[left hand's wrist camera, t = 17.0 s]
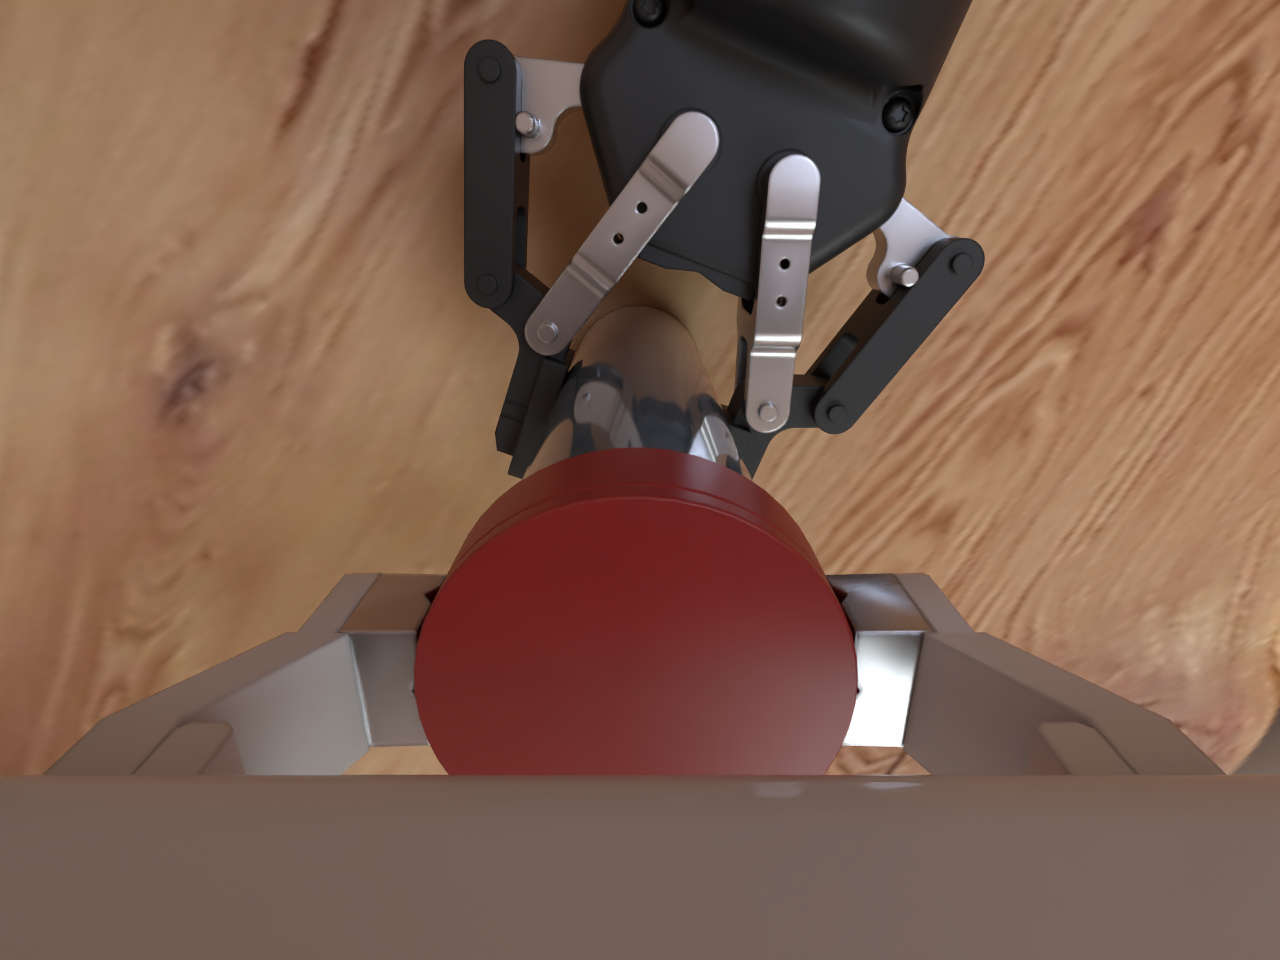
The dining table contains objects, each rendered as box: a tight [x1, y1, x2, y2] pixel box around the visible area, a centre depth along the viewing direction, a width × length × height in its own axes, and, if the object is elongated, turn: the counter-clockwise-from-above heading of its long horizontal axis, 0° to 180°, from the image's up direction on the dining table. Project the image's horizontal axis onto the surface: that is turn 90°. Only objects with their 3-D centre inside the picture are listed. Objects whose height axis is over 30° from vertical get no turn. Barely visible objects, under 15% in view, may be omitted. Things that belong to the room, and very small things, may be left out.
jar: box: [522, 306, 753, 482], centre depth 18 cm, size 5×5×18 cm
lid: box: [414, 447, 858, 775], centre depth 9 cm, size 6×6×2 cm
